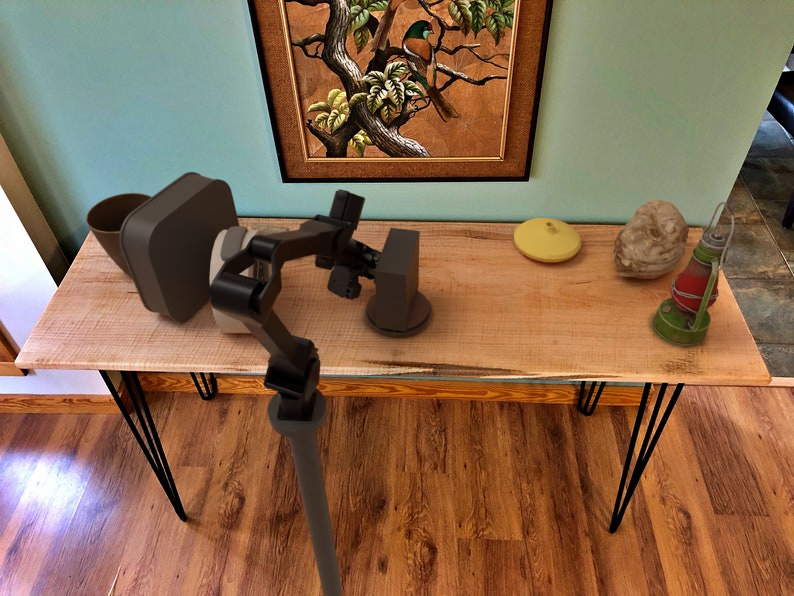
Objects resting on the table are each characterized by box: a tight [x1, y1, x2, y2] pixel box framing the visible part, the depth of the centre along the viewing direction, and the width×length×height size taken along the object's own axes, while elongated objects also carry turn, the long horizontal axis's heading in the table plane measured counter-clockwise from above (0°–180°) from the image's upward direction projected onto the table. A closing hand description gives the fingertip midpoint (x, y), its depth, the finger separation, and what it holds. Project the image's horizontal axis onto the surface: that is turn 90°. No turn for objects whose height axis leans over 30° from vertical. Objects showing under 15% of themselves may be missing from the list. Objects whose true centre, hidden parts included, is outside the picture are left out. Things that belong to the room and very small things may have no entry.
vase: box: [513, 217, 582, 263], centre depth 146 cm, size 16×16×7 cm
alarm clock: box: [210, 225, 272, 334], centre depth 127 cm, size 21×8×20 cm, turn 179°
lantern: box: [651, 201, 735, 349], centre depth 119 cm, size 14×11×30 cm
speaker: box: [119, 171, 240, 323], centre depth 131 cm, size 25×9×25 cm, turn 154°
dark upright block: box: [367, 227, 430, 332], centre depth 126 cm, size 13×14×16 cm
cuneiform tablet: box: [251, 223, 290, 235], centre depth 147 cm, size 7×4×12 cm
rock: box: [612, 199, 690, 280], centre depth 138 cm, size 18×16×15 cm
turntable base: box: [365, 298, 433, 339], centre depth 132 cm, size 14×14×2 cm
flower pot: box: [85, 192, 152, 279], centre depth 139 cm, size 15×15×16 cm
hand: (379, 267), depth 132 cm, fingers closed, pressing on dark upright block
